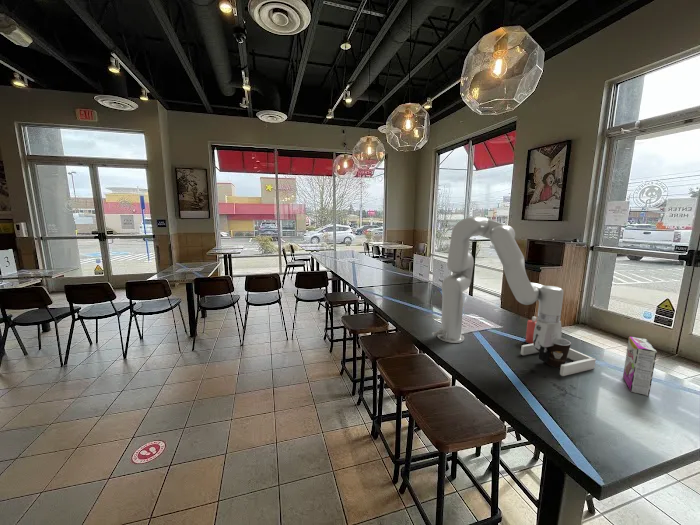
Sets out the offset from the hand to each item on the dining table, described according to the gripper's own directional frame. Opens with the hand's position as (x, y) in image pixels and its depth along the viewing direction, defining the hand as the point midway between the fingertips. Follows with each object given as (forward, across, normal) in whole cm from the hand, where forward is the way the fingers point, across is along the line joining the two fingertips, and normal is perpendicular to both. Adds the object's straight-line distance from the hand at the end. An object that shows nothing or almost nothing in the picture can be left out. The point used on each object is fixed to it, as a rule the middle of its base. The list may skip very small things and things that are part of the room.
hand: (543, 360), depth 119 cm
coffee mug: (+2, +4, 0) cm, 4 cm away
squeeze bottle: (+2, +14, +17) cm, 22 cm away
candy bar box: (+2, +16, -22) cm, 27 cm away
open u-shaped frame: (+2, +7, 0) cm, 7 cm away
